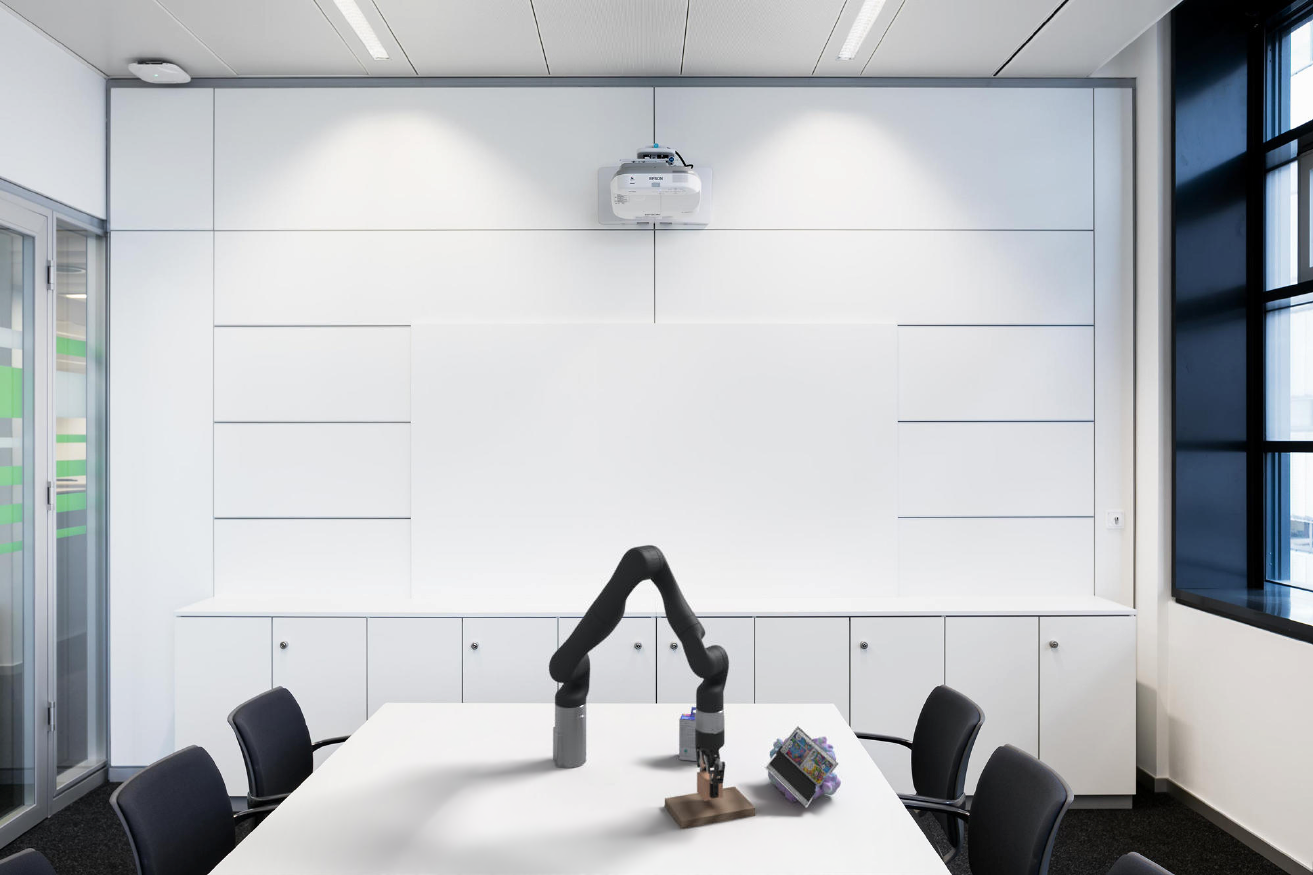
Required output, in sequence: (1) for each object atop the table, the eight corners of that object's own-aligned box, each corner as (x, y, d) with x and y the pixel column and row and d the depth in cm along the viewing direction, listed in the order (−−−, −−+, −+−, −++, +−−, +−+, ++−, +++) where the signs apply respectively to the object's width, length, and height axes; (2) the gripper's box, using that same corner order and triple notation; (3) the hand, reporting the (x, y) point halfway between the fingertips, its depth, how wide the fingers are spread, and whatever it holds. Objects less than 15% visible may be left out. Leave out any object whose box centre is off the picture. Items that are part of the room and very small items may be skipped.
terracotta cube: (704, 800, 187) (704, 780, 187) (696, 791, 192) (697, 772, 192) (722, 797, 189) (722, 777, 189) (714, 788, 194) (714, 769, 194)
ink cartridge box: (714, 755, 223) (714, 707, 223) (711, 763, 218) (712, 713, 218) (681, 752, 225) (682, 704, 225) (678, 760, 220) (678, 711, 220)
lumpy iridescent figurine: (823, 751, 215) (794, 702, 213) (869, 781, 195) (837, 726, 192) (771, 798, 209) (740, 748, 206) (812, 833, 189) (778, 778, 186)
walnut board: (681, 829, 181) (681, 821, 181) (664, 806, 193) (664, 798, 193) (755, 815, 188) (755, 807, 188) (734, 793, 199) (734, 786, 199)
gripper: (685, 717, 196) (685, 782, 196) (707, 738, 182) (707, 807, 182) (711, 714, 198) (711, 777, 198) (735, 734, 185) (735, 802, 185)
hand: (709, 791), depth 190 cm, fingers closed on terracotta cube, 5 cm apart
